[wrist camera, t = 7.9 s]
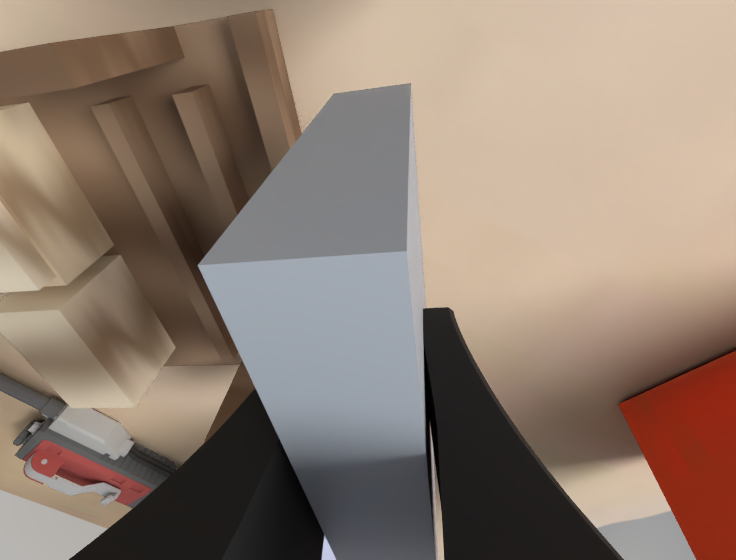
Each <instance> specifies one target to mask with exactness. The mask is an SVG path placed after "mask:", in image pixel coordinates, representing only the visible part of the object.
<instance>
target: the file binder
mask: <svg viewBox="0 0 736 560" xmlns="http://www.w3.org/2000/svg"><path fill="white" fill-rule="evenodd" d="M618 405H619V407H620V409H621V411H622V413H623V415H624V417H625V419H626V421H627V423H628V425H629V427H630V429H631V431H632V433H633V435H634V437H635V439H636V440H637V442H638V444H639V446H640V448H641V450H642V452H643V454H644V456H645V458H646V460H647V462H648V464H649V466H650V468H651V470H652V472H653V474H654V476H655V478H656V480H657V482H658V484H659V486H660V488H661V490H662V492H663V494H664V496H665V498H666V500H667V502H668V504H669V506H670V508H671V510H672V512H673V514H674V516H675V518H676V520H677V522H678V524H679V526H680V528H681V530H682V532H683V534H684V536H685V538H686V540H687V542H688V544H689V546H690V547H691V550H692V552H693V554H694V556H695V558H696V560H736V351H734V352H732V353H729V354H727V355H725V356H723V357H721V358H718V359H716V360H714V361H712V362H710V363H708V364H705V365H703V366H701V367H699V368H697V369H694V370H692V371H690V372H688V373H686V374H684V375H681V376H679V377H677V378H675V379H673V380H670V381H668V382H666V383H664V384H662V385H660V386H657V387H655V388H653V389H651V390H649V391H646V392H644V393H642V394H640V395H638V396H636V397H633V398H631V399H629V400H627V401H625V402H622V403H620V404H618Z"/></svg>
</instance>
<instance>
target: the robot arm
mask: <svg viewBox="0 0 736 560" xmlns="http://www.w3.org/2000/svg"><path fill="white" fill-rule="evenodd" d="M423 342H424V355H425V368H426V381H427V393H428V406H429V419H430V427H431V434H432V442H433V449H434V457H435V464H436V471H437V479H438V486H439V493H440V501H441V510H442V523H443V542H444V560H624V559H623V558H622V557H621V556H620V555H619V554H618V553H617V551H616V550H615V549H614V548H613V547H612V546H611V544H610V543H609V542H608V541H607V540H606V539H605V538H604V536H602V534H601V533H600V532H599V531H598V530H597V528H596V527H595V526H594V525H593V524H592V523H591V522H590V520H589V519H588V518H587V517H586V516H585V515H584V513H583V512H582V511H581V510H580V509H579V508H578V507H577V505H576V504H575V503H574V502H573V501H572V500H571V498H570V497H569V496H568V495H567V494H566V492H565V491H564V490H563V489H562V487H561V486H560V485H559V484H558V482H557V481H556V480H555V479H554V477H553V476H552V475H551V474H550V472H549V471H548V470H547V468H546V467H545V466H544V465H543V463H542V462H541V461H540V459H539V458H538V457H537V455H536V454H535V453H534V451H533V450H532V449H531V447H530V446H529V445H528V443H527V442H526V441H525V439H524V438H523V436H522V435H521V434H520V432H519V431H518V429H517V428H516V426H515V425H514V424H513V422H512V421H511V419H510V418H509V416H508V415H507V413H506V412H505V410H504V409H503V407H502V406H501V404H500V403H499V401H498V399H497V398H496V396H495V395H494V393H493V391H492V390H491V388H490V387H489V385H488V383H487V381H486V380H485V378H484V376H483V374H482V373H481V371H480V369H479V368H478V366H477V364H476V362H475V360H474V359H473V357H472V355H471V353H470V351H469V349H468V347H467V345H466V343H465V341H464V339H463V336H462V334H461V332H460V329H459V327H458V324H457V322H456V319H455V316H454V312H453V311H452V310H451V309H450V308H449V307H446V308H424V309H423ZM69 560H336V558H335V556H334V554H333V552H332V550H331V547H330V545H329V543H328V541H327V539H326V537H325V535H324V533H323V530H322V528H321V526H320V524H319V522H318V520H317V518H316V516H315V513H314V511H313V509H312V507H311V505H310V503H309V501H308V499H307V496H306V494H305V492H304V490H303V488H302V486H301V484H300V482H299V479H298V477H297V475H296V473H295V471H294V469H293V467H292V465H291V462H290V460H289V458H288V456H287V454H286V452H285V450H284V448H283V445H282V443H281V441H280V439H279V437H278V435H277V433H276V431H275V428H274V426H273V424H272V422H271V420H270V418H269V416H268V414H267V411H266V409H265V407H264V405H263V403H262V401H261V399H260V397H259V394H258V392H257V390H256V388H255V389H254V390H253V391H252V392H251V393H250V394H249V396H248V397H247V398H246V399H245V400H244V401H243V402H242V403H241V405H240V406H239V407H238V408H237V409H236V410H235V411H234V413H233V414H232V415H231V416H230V417H229V418H228V419H227V420H226V421H225V422H224V424H223V425H222V426H221V427H220V428H219V429H218V430H217V431H216V432H215V433H214V434H213V435H212V436H211V437H210V438H209V439H208V440H207V441H206V442H205V443H204V444H203V445H202V446H201V447H200V448H199V449H198V450H197V451H196V452H195V453H194V454H193V455H192V456H191V457H190V458H189V459H188V460H187V461H186V462H185V463H184V464H182V465H181V466H180V467H179V468H178V469H177V470H176V471H175V472H174V473H173V474H172V475H170V476H169V477H168V478H167V479H166V480H165V481H164V482H163V483H161V484H160V485H159V486H158V487H157V488H156V489H155V490H154V491H152V492H151V493H150V494H149V495H148V496H147V497H146V498H144V499H143V500H142V501H141V502H140V503H139V504H138V505H137V506H135V507H134V508H133V509H132V510H131V511H129V512H128V513H127V514H126V515H125V516H123V517H122V518H121V519H120V520H118V521H117V522H116V523H115V524H113V525H112V526H111V527H110V528H109V529H107V530H106V531H105V532H104V533H102V534H101V535H100V536H99V537H97V538H96V539H95V540H94V541H92V542H91V543H90V544H89V545H87V546H86V547H85V548H83V549H82V550H81V551H79V552H78V553H77V554H76V555H74V556H73V557H72V558H70V559H69Z"/></svg>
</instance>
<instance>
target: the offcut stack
mask: <svg viewBox="0 0 736 560" xmlns="http://www.w3.org/2000/svg"><path fill="white" fill-rule="evenodd" d="M113 246H114V244H113V242H112V240H111V239H110V237H109V235H108V234H107V232H106V230H105V229H104V227H103V225H102V224H101V222H100V220H99V219H98V217H97V215H96V214H95V212H94V210H93V209H92V207H91V205H90V204H89V202H88V200H87V199H86V197H85V195H84V194H83V192H82V190H81V189H80V187H79V185H78V184H77V182H76V180H75V179H74V177H73V175H72V174H71V172H70V170H69V169H68V167H67V165H66V164H65V162H64V160H63V159H62V157H61V155H60V154H59V152H58V150H57V149H56V147H55V145H54V144H53V142H52V140H51V139H50V137H49V135H48V134H47V132H46V130H45V129H44V127H43V125H42V124H41V122H40V120H39V119H38V117H37V115H36V113H35V112H34V110H33V108H32V107H31V105H30V103H29V102H28V103H22V104H15V105H9V106H2V107H0V293H5V292H12V293H10V294H9V295H8V296H6V297H5V298H4V299H2V300H1V301H0V333H1V334H2V335H3V336H4V337H5V338H6V339H7V340H8V341H9V342H10V343H11V344H12V345H13V346H14V347H15V349H16V350H17V351H18V352H19V353H20V354H21V355H22V356H23V357H24V358H25V359H26V360H27V361H28V362H29V363H30V365H31V366H32V367H33V368H34V369H35V370H36V371H37V372H38V373H39V374H40V375H41V376H42V377H43V378H44V379H45V381H46V382H47V383H48V384H49V385H50V386H51V387H52V388H53V389H54V390H55V391H56V392H57V393H58V394H59V395H60V397H61V398H62V399H63V400H64V401H65V402H66V403H67V404H68V405H69V406H70V407H71V408H136V406H137V405H138V403H139V402H140V400H141V399H142V397H143V396H144V394H145V393H146V391H147V390H148V388H149V387H150V385H151V384H152V382H153V381H154V379H155V378H156V376H157V375H158V373H159V372H160V370H161V369H162V367H163V366H164V364H165V363H166V361H167V360H168V358H169V357H170V355H171V354H172V352H173V351H174V349H175V348H176V347H175V345H174V344H173V342H172V340H171V339H170V337H169V335H168V334H167V332H166V330H165V329H164V327H163V325H162V324H161V322H160V320H159V319H158V317H157V315H156V314H155V312H154V310H153V309H152V307H151V305H150V304H149V302H148V300H147V299H146V297H145V295H144V294H143V292H142V290H141V289H140V287H139V285H138V284H137V282H136V280H135V279H134V277H133V275H132V274H131V272H130V270H129V269H128V267H127V265H126V264H125V262H124V260H123V259H122V257H121V255H111V256H102V255H103V254H105V253H106V252H107V251H108V250H109V249H111V248H112V247H113Z"/></svg>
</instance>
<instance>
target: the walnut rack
mask: <svg viewBox="0 0 736 560" xmlns="http://www.w3.org/2000/svg"><path fill="white" fill-rule="evenodd" d="M28 102H29V103H30V105H31V107H32V108H33V110H34V112H35V113H36V115H37V117H38V119H39V120H40V122H41V124H42V125H43V127H44V129H45V130H46V132H47V134H48V135H49V137H50V139H51V140H52V142H53V144H54V145H55V147H56V149H57V150H58V152H59V154H60V155H61V157H62V159H63V160H64V162H65V164H66V165H67V167H68V169H69V170H70V172H71V174H72V175H73V177H74V179H75V180H76V182H77V184H78V185H79V187H80V189H81V190H82V192H83V194H84V195H85V197H86V199H87V200H88V202H89V204H90V205H91V207H92V209H93V210H94V212H95V214H96V215H97V217H98V219H99V220H100V222H101V224H102V225H103V227H104V229H105V230H106V232H107V234H108V235H109V237H110V239H111V240H112V242H113V244H114V246H113V247H112V248H111V249H109V250H108V251H107V252H106V253H105V254H103V255H102V256H111V255H121V257H122V259H123V260H124V262H125V264H126V265H127V267H128V269H129V270H130V272H131V274H132V275H133V277H134V279H135V280H136V282H137V284H138V285H139V287H140V289H141V290H142V292H143V294H144V295H145V297H146V299H147V300H148V302H149V304H150V305H151V307H152V309H153V310H154V312H155V314H156V315H157V317H158V319H159V320H160V322H161V324H162V325H163V327H164V329H165V330H166V332H167V334H168V335H169V337H170V339H171V340H172V342H173V344H174V345H175V347H176V348H175V349H174V351H173V352H172V354H171V355H170V357H169V358H168V360H167V361H166V363H165V364H164V366H191V365H231V364H240V366H239V368H238V370H237V373H236V375H235V377H234V379H233V381H232V383H231V386H230V388H229V390H228V392H227V394H226V396H225V398H224V401H223V403H222V405H221V407H220V409H219V411H218V413H217V416H216V418H215V420H214V422H213V424H212V426H211V428H210V431H209V433H208V435H207V437H206V439H205V442H206V441H207V440H208V439H209V438H210V437H211V436H212V435H213V434H214V433H215V432H216V431H217V430H218V429H219V428H220V427H221V426H222V425H223V424H224V422H225V421H226V420H227V419H228V418H229V417H230V416H231V415H232V414H233V413H234V411H235V410H236V409H237V408H238V407H239V406H240V405H241V403H242V402H243V401H244V400H245V399H246V398H247V397H248V396H249V394H250V393H251V392H252V391H253V390H254V389H255V386H254V384H253V382H252V380H251V377H250V375H249V373H248V371H247V369H246V367H245V365H244V363H243V360H242V358H241V356H240V354H239V352H238V350H237V348H236V346H235V343H234V341H233V339H232V337H231V335H230V333H229V331H228V329H227V326H226V324H225V322H224V320H223V318H222V316H221V314H220V312H219V309H218V307H217V305H216V303H215V301H214V299H213V297H212V295H211V292H210V290H209V288H208V286H207V284H206V282H205V280H204V278H203V275H202V273H201V271H200V269H199V267H198V264H199V263H200V262H201V261H202V259H203V258H204V257H205V256H206V254H207V253H208V252H209V250H210V249H211V248H212V247H213V245H214V244H215V243H216V242H217V240H218V239H219V238H220V237H221V235H222V234H223V233H224V232H225V230H226V229H227V228H228V227H229V225H230V224H231V223H232V221H233V220H234V219H235V218H236V216H237V215H238V214H239V213H240V211H241V210H242V209H243V208H244V206H245V205H246V204H247V203H248V201H249V200H250V199H251V198H252V196H253V195H254V194H255V193H256V191H257V190H258V189H259V187H260V186H261V185H262V184H263V182H264V181H265V180H266V179H267V177H268V176H269V175H270V174H271V172H272V171H273V170H274V169H275V167H276V166H277V165H278V164H279V162H280V161H281V160H282V158H283V157H284V156H285V155H286V153H287V152H288V151H289V150H290V148H291V147H292V146H293V145H294V143H295V142H296V141H297V140H298V138H299V137H300V136H301V135H302V134H301V130H300V126H299V121H298V117H297V113H296V108H295V104H294V100H293V95H292V91H291V87H290V82H289V78H288V74H287V69H286V65H285V61H284V57H283V52H282V48H281V44H280V39H279V35H278V31H277V26H276V22H275V18H274V13H273V9H272V10H263V11H255V12H249V13H243V14H238V15H232V16H227V17H224V18H218V19H212V20H207V21H201V22H195V23H189V24H184V25H178V26H172V27H165V28H157V29H150V30H143V31H135V32H128V33H121V34H113V35H106V36H99V37H91V38H84V39H77V40H69V41H62V42H55V43H48V44H43V45H37V46H31V47H26V48H20V49H14V50H9V51H3V52H0V107H2V106H9V105H15V104H22V103H28Z"/></svg>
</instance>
